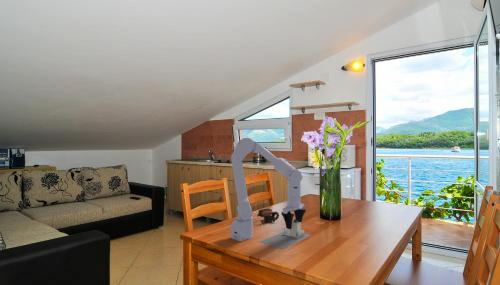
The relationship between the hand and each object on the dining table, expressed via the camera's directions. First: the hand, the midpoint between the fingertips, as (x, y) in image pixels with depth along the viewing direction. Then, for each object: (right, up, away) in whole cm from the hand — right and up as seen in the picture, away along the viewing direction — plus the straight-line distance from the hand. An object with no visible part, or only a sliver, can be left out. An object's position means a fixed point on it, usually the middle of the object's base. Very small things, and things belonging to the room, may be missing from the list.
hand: (293, 226), depth 132 cm
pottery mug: (-10, -5, +23) cm, 26 cm away
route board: (-4, -5, -4) cm, 8 cm away
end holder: (0, -5, 0) cm, 5 cm away
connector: (+1, -3, 0) cm, 3 cm away
